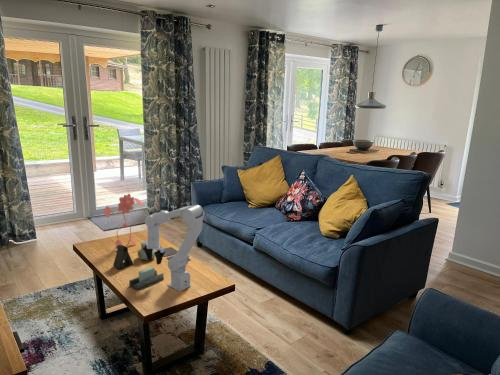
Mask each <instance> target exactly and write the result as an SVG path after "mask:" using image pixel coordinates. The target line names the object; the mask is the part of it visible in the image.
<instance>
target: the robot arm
mask: <svg viewBox="0 0 500 375" xmlns="http://www.w3.org/2000/svg"><path fill="white" fill-rule="evenodd" d="M204 216H205V211H204V209H203V207H202V206H201V205H199V204H195V205H187V206H183V207H180V208H177V209H174V210H171V211H169V210H164V209H161V210H160V211H159V212H153V213H152V214H150V215H147V216H145V218H144V223H145V226H147V228H146V229H147V240H145V241H146V242H144V246H145V247H143V250H144V251H145V253H146V256H147V259H148V260H147V261H151V260H152V259H153V258H152V251H153V249H154V250H155V252H154V254H155V260H156V265H158V266H159V265H161V264H162V261H163V258H164V255H165V254H166V250H165V247H163V246H162V245H161V244H160V226H161V225H162V224H165V223H168V222H170V221H171V219H173V218H174V219H175V218H178V217H180V219H182V220H183V221H184V223H185V225H186V226H187V227H188V231H187V233H186V234H185V237H184V239H183V241H182V242H181V244H180V246H179V248H178V250H177V252H176V253H175V254H174V255H173V256H172V258H171V259H169V260H168V261H167V268H168V269H169V271H170V283H167V286H168V287H171V288H173V289H174V290H176V291H178V292H181V291H184V290H185V289H187V288H190V287H191V286H192V284H191V274H190V272H188V271H187V269H186V267H187V265H188V264H189V258H190V255H189V254H190V252H191V250H192V248H193V247H194V244H195V243H196V241H197V239H198V237H200V236H199V235H200V233H202V230H203V221H204V220H203V218H204ZM147 241H148V242H147Z"/></svg>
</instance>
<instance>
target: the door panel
mask: <svg viewBox="0 0 500 375" xmlns="http://www.w3.org/2000/svg"><path fill="white" fill-rule="evenodd" d="M155 270H156V268H155V267H154V266H150V267H147V268H144V269H142V270H139V271H138V277H139V283H140V282H142V281H145V280H147V279H150V278H152V277H154V276H155Z"/></svg>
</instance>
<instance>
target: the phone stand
mask: <svg viewBox="0 0 500 375" xmlns="http://www.w3.org/2000/svg"><path fill="white" fill-rule="evenodd" d="M116 249H117V250H116V252H115V253H116V254H115V257H114V261H113V263H112V264H113V265H112V267H113V268H114V269H115V268H116V269H118V271H119V270H123V269H126V268H129V267H131V266H134V263H133V260H132V257H131V256H130V252H129V248H128V247H127V246H125V245H123V244H122V245H121V244H120V245H118V246H117V248H116Z"/></svg>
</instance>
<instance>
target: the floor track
mask: <svg viewBox="0 0 500 375" xmlns="http://www.w3.org/2000/svg"><path fill="white" fill-rule="evenodd" d="M164 279H165V278H164V273H160V274H158V271H157V269H155V276H154V277H152V278H150V279H147V280H145V281H142V282H140V283H139V276H137V277H135V278H133V279H130V280H129V284H128V286H129V287H130V288H132V289H134V290H136V291H140V290H143V289H145V288H147V287H149V286H151V285H153V284H156V283H159V282H161V281H163V280H164Z"/></svg>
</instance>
